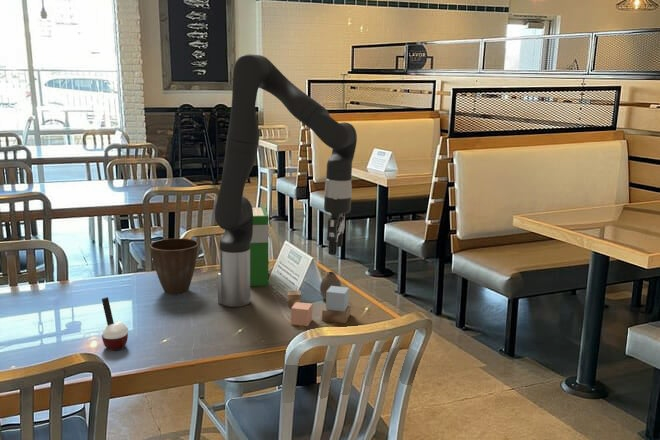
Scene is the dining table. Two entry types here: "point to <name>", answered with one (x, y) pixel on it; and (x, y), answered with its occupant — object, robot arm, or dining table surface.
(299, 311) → the terracotta cube
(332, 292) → the slate cube
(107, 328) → the fishing bobber
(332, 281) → the vase
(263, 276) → the hardback book
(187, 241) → the plant pot
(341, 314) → the walnut slab
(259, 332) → the dining table surface
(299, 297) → the maple block
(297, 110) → the robot arm
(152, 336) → the dining table surface
